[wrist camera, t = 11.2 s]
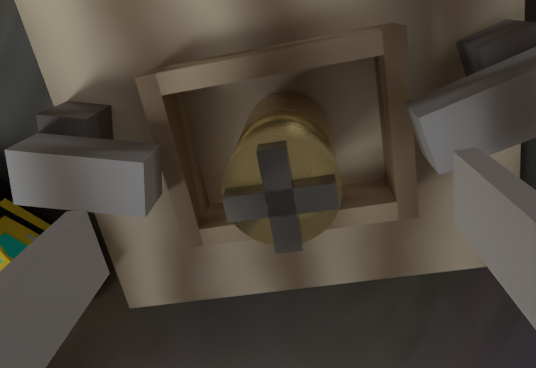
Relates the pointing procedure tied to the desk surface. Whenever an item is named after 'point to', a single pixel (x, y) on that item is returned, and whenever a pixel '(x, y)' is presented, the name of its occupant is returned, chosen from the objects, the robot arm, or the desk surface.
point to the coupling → (283, 173)
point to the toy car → (17, 229)
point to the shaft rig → (235, 117)
